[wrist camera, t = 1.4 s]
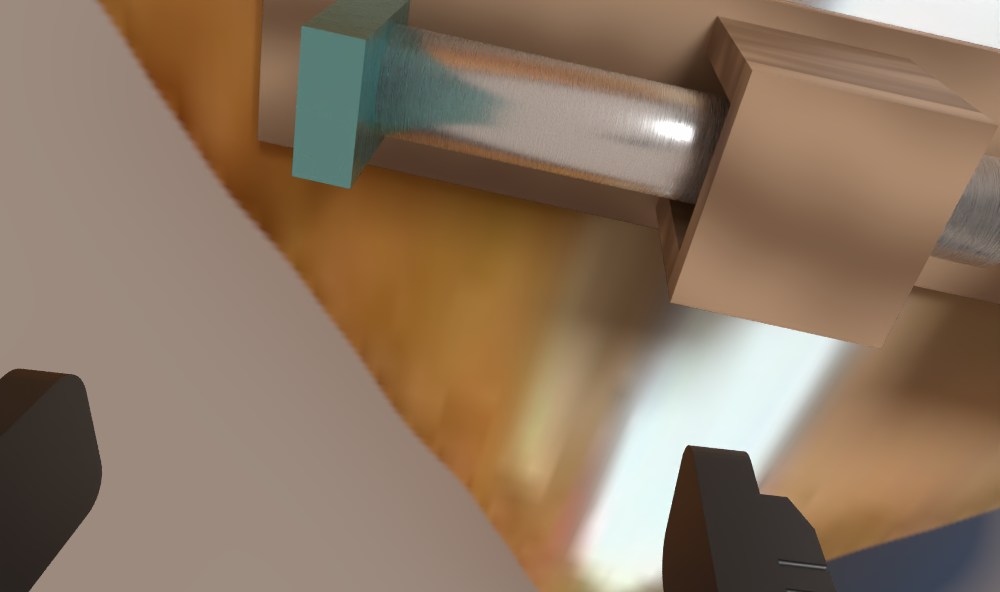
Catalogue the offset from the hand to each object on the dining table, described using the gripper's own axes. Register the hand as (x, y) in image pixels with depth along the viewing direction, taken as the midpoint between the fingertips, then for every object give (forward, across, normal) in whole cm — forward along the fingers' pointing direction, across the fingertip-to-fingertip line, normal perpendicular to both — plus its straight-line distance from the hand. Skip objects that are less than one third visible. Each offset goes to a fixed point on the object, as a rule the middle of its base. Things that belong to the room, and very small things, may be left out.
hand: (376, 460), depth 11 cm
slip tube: (+24, -6, +2) cm, 24 cm away
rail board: (+26, -11, +2) cm, 28 cm away
